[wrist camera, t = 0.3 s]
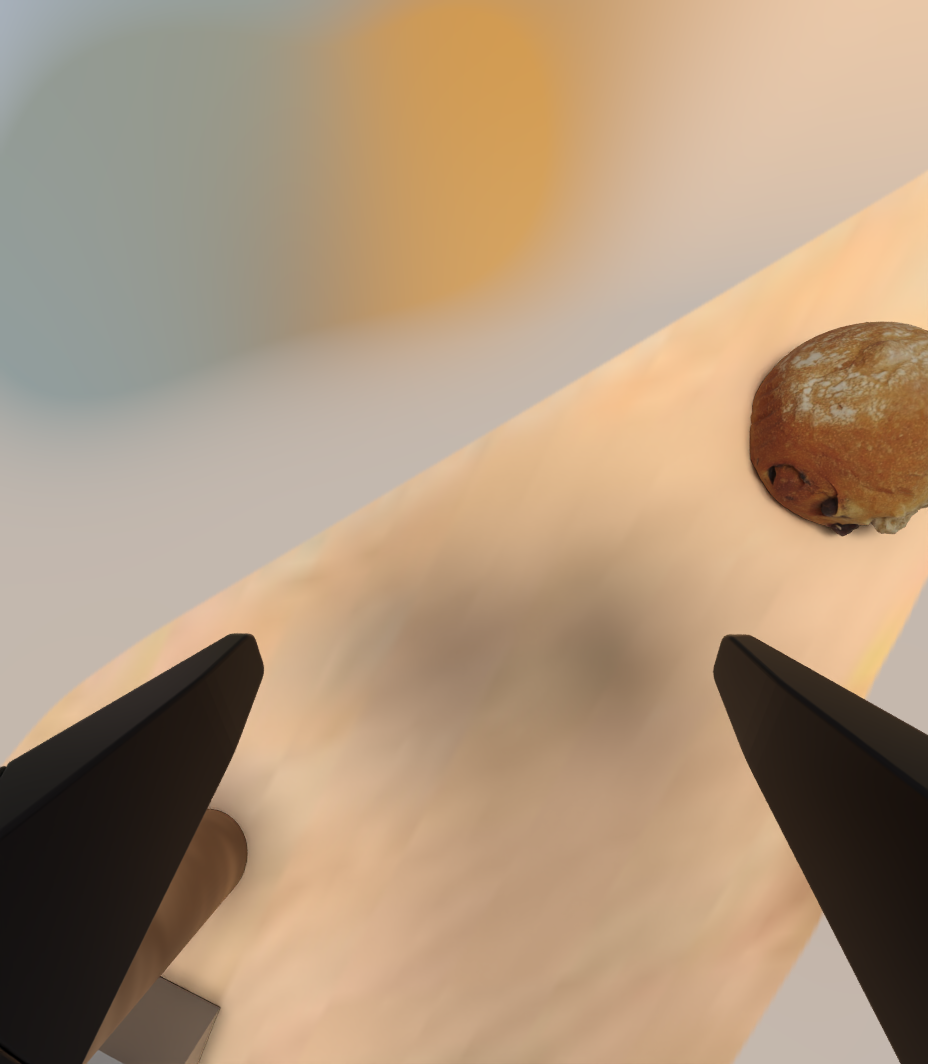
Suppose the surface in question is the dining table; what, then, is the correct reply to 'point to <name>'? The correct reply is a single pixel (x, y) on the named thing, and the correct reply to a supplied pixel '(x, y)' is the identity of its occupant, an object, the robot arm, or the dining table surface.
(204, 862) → the post
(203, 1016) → the grey square frame
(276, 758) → the dining table surface
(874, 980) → the robot arm
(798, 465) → the bread roll
